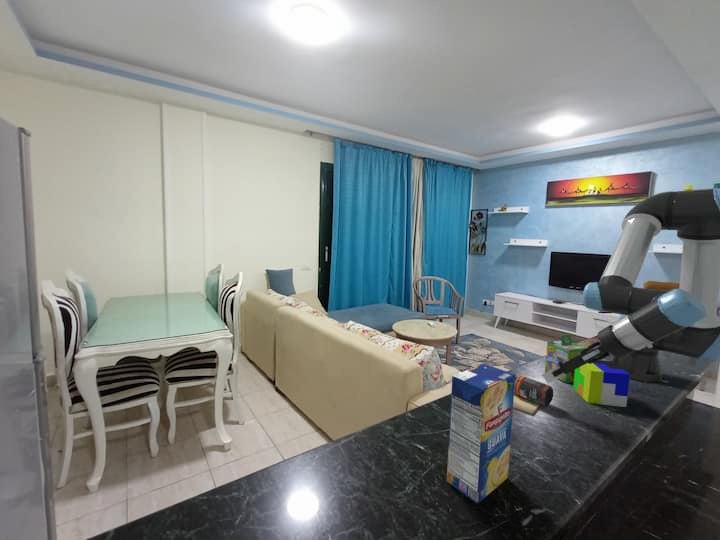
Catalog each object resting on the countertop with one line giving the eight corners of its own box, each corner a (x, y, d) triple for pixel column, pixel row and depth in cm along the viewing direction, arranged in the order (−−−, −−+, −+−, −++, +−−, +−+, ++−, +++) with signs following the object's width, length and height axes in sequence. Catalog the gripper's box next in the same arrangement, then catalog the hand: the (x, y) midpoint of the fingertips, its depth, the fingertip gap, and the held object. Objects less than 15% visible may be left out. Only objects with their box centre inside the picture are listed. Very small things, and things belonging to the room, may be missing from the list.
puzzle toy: (626, 407, 96) (630, 374, 94) (587, 403, 98) (591, 370, 96) (607, 391, 105) (611, 361, 104) (573, 387, 107) (576, 358, 106)
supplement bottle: (556, 387, 96) (518, 373, 105) (548, 385, 92) (509, 370, 101) (550, 408, 95) (513, 391, 104) (542, 406, 91) (504, 389, 100)
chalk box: (566, 384, 110) (571, 341, 108) (543, 372, 118) (547, 332, 117) (586, 380, 113) (591, 338, 111) (562, 369, 121) (566, 330, 119)
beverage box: (446, 481, 66) (452, 376, 63) (477, 459, 72) (484, 363, 70) (477, 504, 60) (484, 390, 58) (507, 477, 67) (515, 374, 64)
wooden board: (510, 380, 111) (511, 379, 111) (550, 393, 103) (550, 391, 103) (488, 399, 98) (488, 397, 98) (531, 415, 90) (531, 413, 90)
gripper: (627, 357, 73) (544, 397, 88) (645, 346, 81) (565, 384, 96) (602, 328, 77) (525, 371, 92) (621, 320, 84) (548, 361, 100)
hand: (546, 378), depth 94 cm, fingers closed
